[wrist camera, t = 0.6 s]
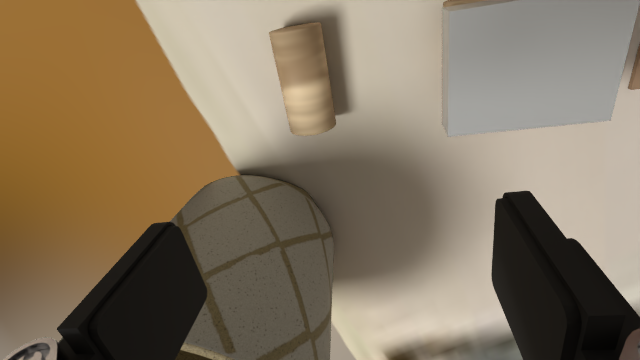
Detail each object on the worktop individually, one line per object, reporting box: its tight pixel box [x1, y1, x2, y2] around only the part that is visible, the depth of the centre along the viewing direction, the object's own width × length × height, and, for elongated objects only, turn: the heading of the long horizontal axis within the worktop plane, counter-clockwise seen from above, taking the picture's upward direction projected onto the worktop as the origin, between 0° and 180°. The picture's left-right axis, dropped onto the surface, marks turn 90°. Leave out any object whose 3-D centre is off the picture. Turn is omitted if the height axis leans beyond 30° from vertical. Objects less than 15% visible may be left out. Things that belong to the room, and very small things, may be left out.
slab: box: [442, 0, 640, 137], centre depth 23 cm, size 8×10×2 cm
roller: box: [269, 23, 336, 136], centre depth 29 cm, size 8×4×4 cm, turn 9°
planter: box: [58, 175, 334, 360], centre depth 32 cm, size 19×19×20 cm
